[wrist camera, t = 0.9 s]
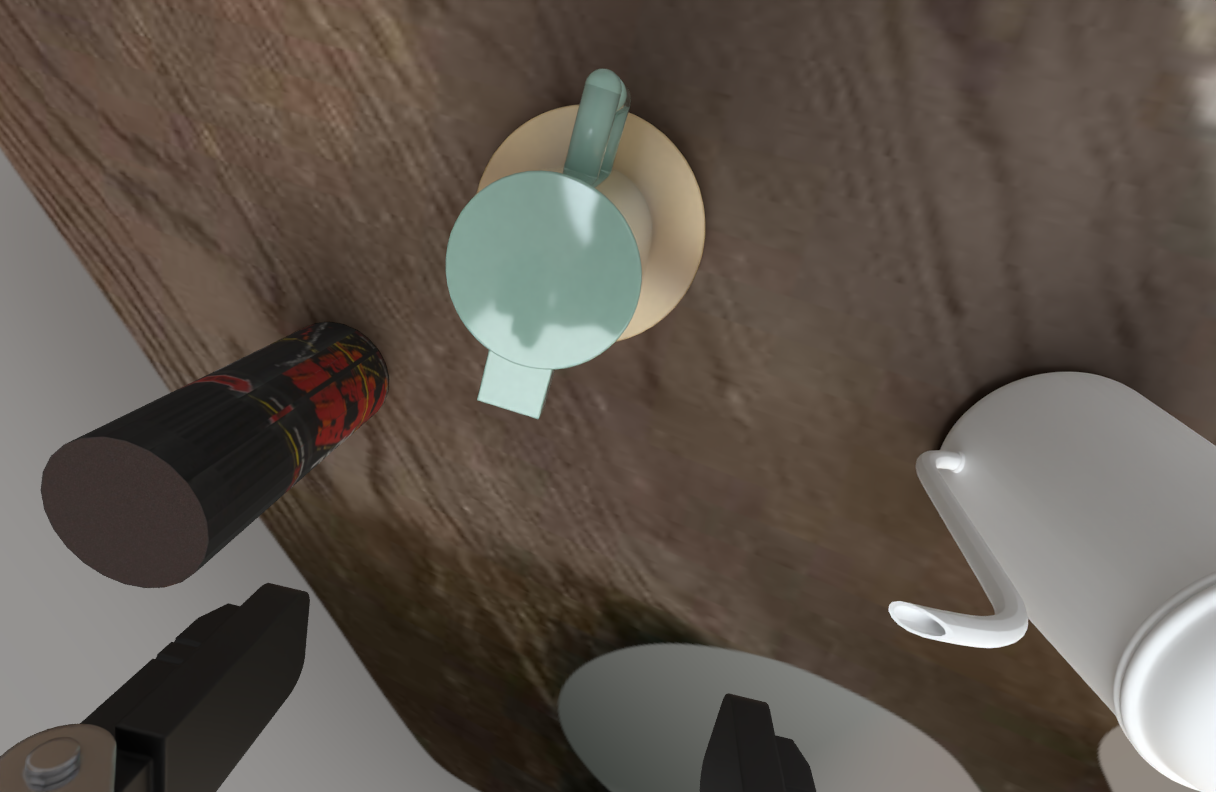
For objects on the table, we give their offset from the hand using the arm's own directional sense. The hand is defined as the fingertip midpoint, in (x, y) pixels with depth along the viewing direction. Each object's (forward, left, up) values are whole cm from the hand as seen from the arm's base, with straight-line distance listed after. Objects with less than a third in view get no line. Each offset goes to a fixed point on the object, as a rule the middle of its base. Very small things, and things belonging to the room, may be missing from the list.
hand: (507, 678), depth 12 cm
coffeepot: (+19, +12, -24) cm, 33 cm away
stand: (-5, +3, -23) cm, 24 cm away
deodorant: (-9, -13, -24) cm, 28 cm away
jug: (-5, +4, -22) cm, 23 cm away
